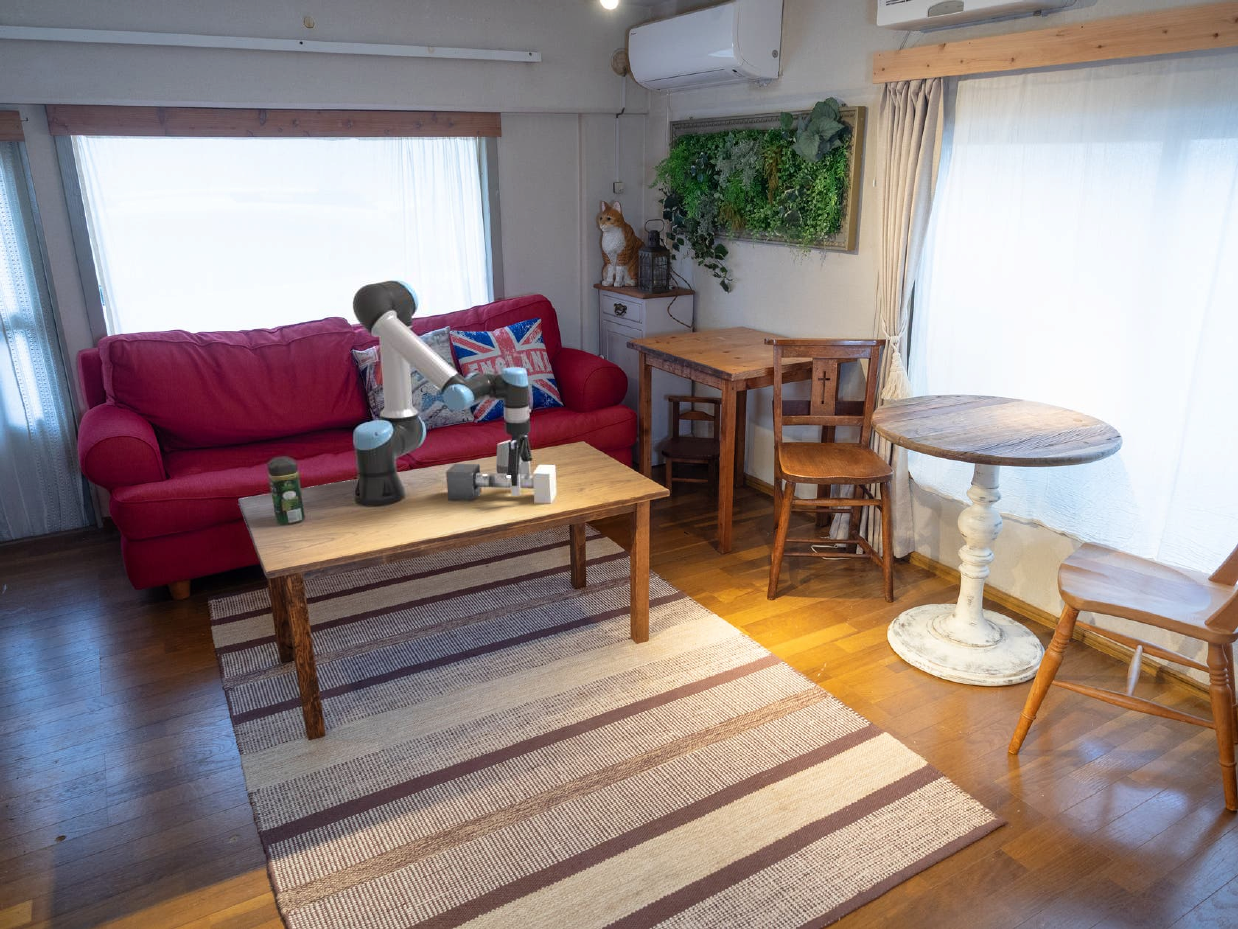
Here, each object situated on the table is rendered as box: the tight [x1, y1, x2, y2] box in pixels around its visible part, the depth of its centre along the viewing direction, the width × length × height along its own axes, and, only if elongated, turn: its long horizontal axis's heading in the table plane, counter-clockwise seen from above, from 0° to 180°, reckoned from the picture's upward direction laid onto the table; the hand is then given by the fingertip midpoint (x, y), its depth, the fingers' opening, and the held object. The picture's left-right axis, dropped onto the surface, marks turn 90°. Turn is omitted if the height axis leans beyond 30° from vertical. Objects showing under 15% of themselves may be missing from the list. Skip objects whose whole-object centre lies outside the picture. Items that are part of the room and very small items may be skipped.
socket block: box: [532, 464, 557, 505], centre depth 261 cm, size 5×8×10 cm, turn 172°
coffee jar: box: [267, 455, 306, 525], centre depth 246 cm, size 10×8×19 cm
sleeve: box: [445, 463, 482, 502], centre depth 264 cm, size 8×8×9 cm
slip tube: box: [473, 472, 534, 490], centre depth 262 cm, size 26×4×4 cm, turn 82°
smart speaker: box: [496, 438, 523, 474], centre depth 279 cm, size 10×9×14 cm
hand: (521, 488), depth 262 cm, fingers open, 12 cm apart
